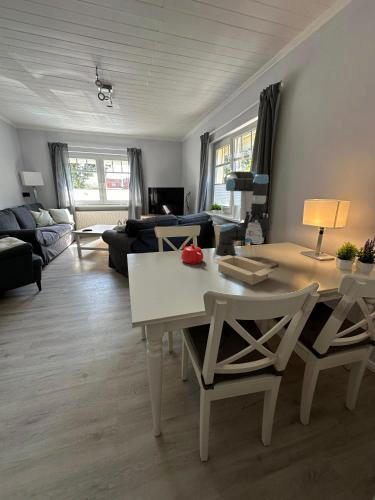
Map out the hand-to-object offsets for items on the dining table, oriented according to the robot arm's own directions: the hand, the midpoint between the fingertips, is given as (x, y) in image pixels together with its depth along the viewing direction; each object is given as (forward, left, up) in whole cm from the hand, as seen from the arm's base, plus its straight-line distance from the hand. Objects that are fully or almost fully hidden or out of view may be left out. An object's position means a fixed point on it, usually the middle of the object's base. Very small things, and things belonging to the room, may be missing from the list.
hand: (254, 240), depth 128 cm
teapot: (-35, -20, -19) cm, 45 cm away
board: (-1, +15, -19) cm, 24 cm away
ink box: (0, 0, -1) cm, 1 cm away
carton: (+1, -11, -19) cm, 22 cm away
